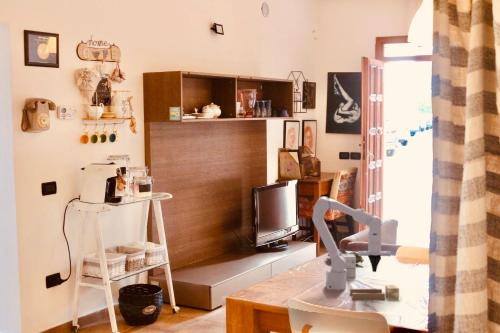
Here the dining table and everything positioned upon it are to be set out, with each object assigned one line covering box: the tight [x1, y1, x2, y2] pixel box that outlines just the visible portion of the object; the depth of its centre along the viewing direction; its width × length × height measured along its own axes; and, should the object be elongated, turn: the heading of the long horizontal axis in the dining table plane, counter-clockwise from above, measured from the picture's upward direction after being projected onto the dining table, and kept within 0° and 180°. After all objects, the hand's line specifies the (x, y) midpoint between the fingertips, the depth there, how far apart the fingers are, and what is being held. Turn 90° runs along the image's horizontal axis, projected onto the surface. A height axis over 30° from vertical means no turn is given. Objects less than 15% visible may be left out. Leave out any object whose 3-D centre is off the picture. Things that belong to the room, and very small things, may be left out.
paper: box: [327, 248, 365, 264], centre depth 338 cm, size 25×16×8 cm, turn 63°
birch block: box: [384, 284, 400, 298], centre depth 271 cm, size 5×5×4 cm
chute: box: [349, 288, 404, 301], centre depth 271 cm, size 22×9×3 cm, turn 89°
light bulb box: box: [342, 254, 357, 278], centre depth 309 cm, size 11×7×11 cm, turn 92°
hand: (374, 271), depth 281 cm, fingers closed
